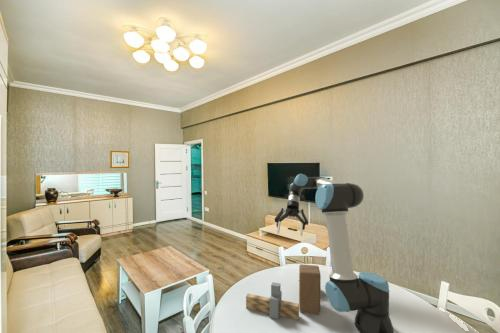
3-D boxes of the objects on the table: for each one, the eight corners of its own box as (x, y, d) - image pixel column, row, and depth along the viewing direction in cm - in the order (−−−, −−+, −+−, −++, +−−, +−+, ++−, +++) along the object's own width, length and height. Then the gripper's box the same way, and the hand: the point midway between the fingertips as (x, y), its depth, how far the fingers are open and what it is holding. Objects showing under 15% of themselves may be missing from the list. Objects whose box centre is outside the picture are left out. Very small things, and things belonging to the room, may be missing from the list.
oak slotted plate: (298, 316, 109) (298, 303, 109) (298, 319, 106) (298, 306, 106) (247, 305, 117) (247, 293, 117) (246, 308, 115) (246, 296, 115)
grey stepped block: (273, 306, 116) (273, 279, 116) (281, 308, 115) (281, 280, 115) (269, 317, 108) (269, 287, 108) (278, 319, 107) (278, 289, 107)
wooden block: (320, 315, 109) (320, 273, 109) (299, 312, 111) (299, 271, 111) (318, 303, 119) (318, 265, 119) (299, 300, 121) (299, 263, 121)
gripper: (313, 208, 145) (311, 238, 131) (275, 205, 153) (269, 234, 139) (313, 201, 140) (311, 231, 126) (273, 199, 148) (267, 227, 134)
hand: (289, 233), depth 133 cm, fingers open, 13 cm apart
